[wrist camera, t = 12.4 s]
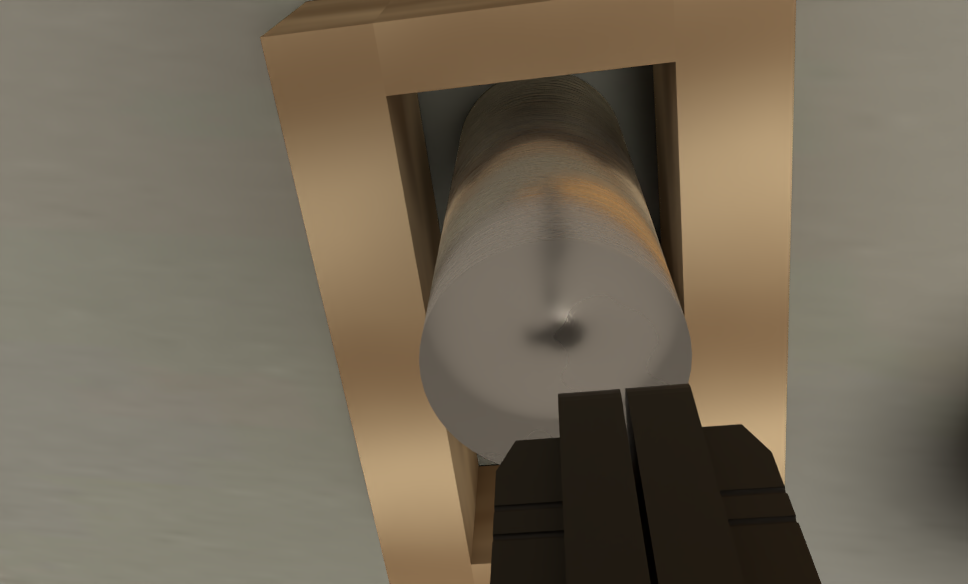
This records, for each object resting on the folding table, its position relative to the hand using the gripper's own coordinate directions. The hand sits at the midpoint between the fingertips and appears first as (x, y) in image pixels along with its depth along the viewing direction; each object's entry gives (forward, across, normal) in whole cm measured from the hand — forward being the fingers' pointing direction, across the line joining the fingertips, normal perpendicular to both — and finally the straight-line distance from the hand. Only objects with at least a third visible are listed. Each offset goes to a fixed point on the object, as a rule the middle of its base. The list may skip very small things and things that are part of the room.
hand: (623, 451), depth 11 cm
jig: (+13, +1, +4) cm, 13 cm away
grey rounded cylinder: (+13, +1, +1) cm, 13 cm away
